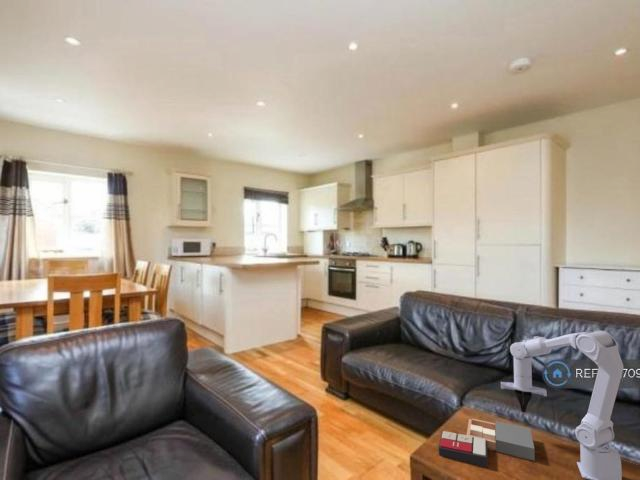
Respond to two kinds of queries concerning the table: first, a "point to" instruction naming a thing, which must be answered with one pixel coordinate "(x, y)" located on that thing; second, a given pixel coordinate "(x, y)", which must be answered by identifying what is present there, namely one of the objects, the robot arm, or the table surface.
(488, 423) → the box
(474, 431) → the tile
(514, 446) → the grey rectangular block
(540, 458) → the table surface
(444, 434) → the calculator
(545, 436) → the table surface
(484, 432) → the tile
